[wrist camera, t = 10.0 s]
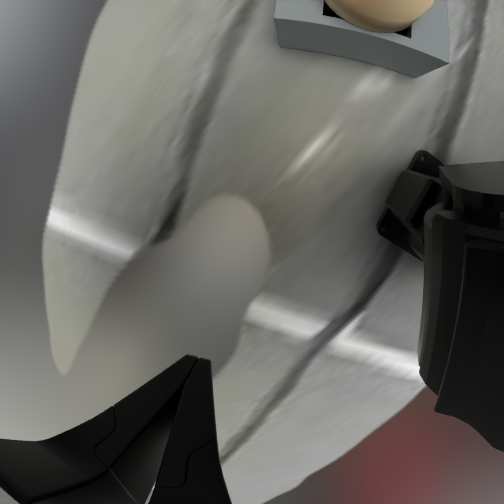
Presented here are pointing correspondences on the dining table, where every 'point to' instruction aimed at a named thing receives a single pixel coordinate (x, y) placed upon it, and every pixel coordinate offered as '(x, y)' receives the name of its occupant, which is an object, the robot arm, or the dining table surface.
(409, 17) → the knob
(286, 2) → the grey peg holder block
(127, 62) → the dining table surface
